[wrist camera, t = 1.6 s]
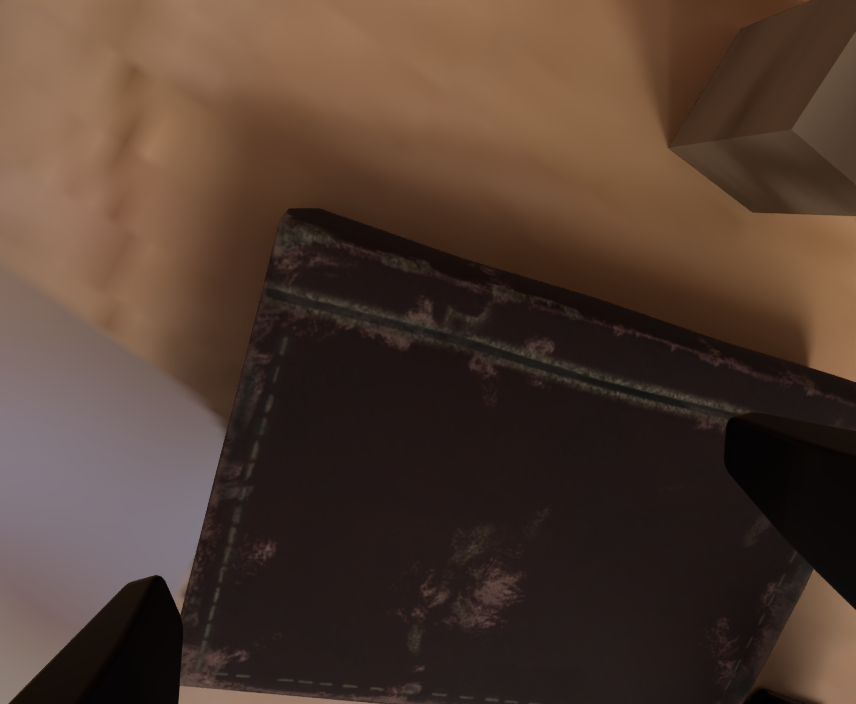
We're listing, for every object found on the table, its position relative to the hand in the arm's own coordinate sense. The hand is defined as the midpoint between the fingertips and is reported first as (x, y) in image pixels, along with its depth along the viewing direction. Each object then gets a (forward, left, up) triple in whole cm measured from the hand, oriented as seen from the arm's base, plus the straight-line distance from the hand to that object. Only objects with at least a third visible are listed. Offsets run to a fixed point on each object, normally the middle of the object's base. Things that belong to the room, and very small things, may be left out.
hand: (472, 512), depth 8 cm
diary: (-9, +4, -14) cm, 17 cm away
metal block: (-9, -14, -14) cm, 22 cm away
